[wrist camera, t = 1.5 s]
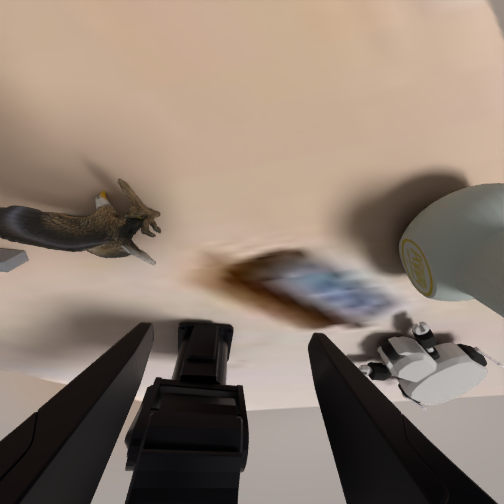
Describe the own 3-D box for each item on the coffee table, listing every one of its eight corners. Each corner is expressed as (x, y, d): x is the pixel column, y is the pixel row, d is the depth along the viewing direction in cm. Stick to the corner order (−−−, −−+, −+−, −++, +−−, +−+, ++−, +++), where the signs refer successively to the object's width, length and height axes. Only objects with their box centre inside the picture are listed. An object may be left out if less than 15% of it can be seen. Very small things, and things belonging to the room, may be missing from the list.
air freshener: (384, 208, 19) (507, 267, 10) (480, 161, 18) (719, 183, 9) (402, 287, 24) (496, 371, 15) (478, 255, 22) (631, 329, 14)
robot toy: (343, 355, 31) (410, 385, 35) (357, 386, 27) (431, 417, 31) (408, 301, 27) (478, 343, 30) (436, 329, 23) (513, 373, 26)
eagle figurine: (119, 140, 14) (-18, 179, 13) (124, 216, 11) (-59, 274, 10) (167, 211, 21) (78, 239, 20) (179, 271, 18) (73, 309, 17)
